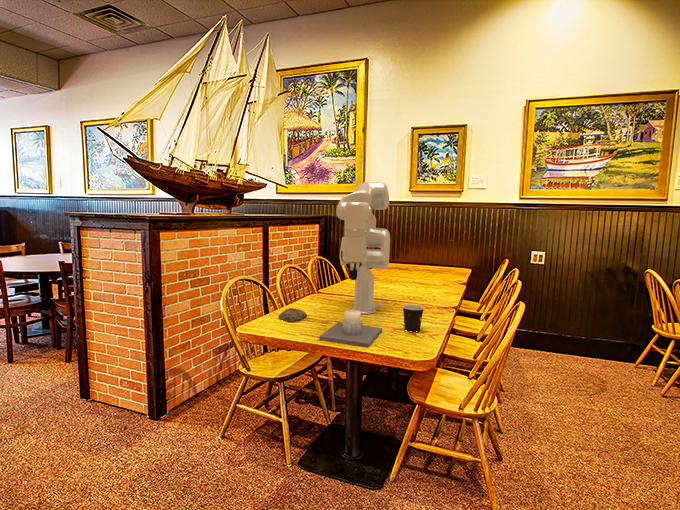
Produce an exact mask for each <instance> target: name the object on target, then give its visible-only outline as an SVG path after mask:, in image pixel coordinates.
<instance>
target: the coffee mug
mask: <svg viewBox="0 0 680 510" xmlns="http://www.w3.org/2000/svg"><path fill="white" fill-rule="evenodd" d="M402 308H403V309H402V310H403V311H402V312H403V324H404V331H405V330H407V331H412V332H411V333H413V332H415V333H417V332H416V331H419V330H420V331H421V326H422V319H423V314H424V307H423V306H421V305H418V304H405V305H402ZM407 331H406V332H407ZM420 331H419V332H420Z"/></svg>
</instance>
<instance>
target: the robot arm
mask: <svg viewBox="0 0 680 510" xmlns="http://www.w3.org/2000/svg"><path fill="white" fill-rule="evenodd" d="M389 193H390V192H389V188H388V186H387V184H385V182H383V181H364V182H361V183H359V184H358V185H357V187H356V189H355V192H352V193H349V194H345V195H344V196H342V197H341V198H340V200H339V202H338V203H337V206H336V216H337V218H338V219H339V220H342V221H344V236H342V238H341V242H340V248H339V249H340V250H339V260H340V265H341V266H343V267H346V268H347V269H348V278H349V279H350V280H351V281H354V306H353V307H351V309H353V310H359V311H361V315H372V314H375V313H377V308H380V307H383V303H382V302H374V298H375V297H374V295H375V294H374V293H375V292H374V291H375V275H374V274H373V271H371V269H380V270H381V269H383V270H384V269H385V270H386V269H388V267H389V264H390V252H391V251H390V250H391V234H390V231H389V230H388V229H387V228H382V227H381V228H379V227H377V218H376V216H375V215H374V214H373V210H386V209H388V207H389V205H390V195H389ZM375 248H379V249H375Z"/></svg>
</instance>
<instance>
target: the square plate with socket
mask: <svg viewBox="0 0 680 510" xmlns="http://www.w3.org/2000/svg"><path fill="white" fill-rule="evenodd" d="M382 332H383V327H378V326H369V325H363V321H362V320H361V322H360V323H357V324H349V323H346V322H344V319H343V320H342V321H341V322H337V323H335V324H333V326H331V327H330V328H329V329H327V330H326V331H324V332H323V333H322V334H320V336H319V341H324V342H329V341H330V342H331V343H336V342H337V343H338V344H342V345H343V344H344V345H349V346H356V347H363V348H368V347H369V346H370V347H371V346H372V344H373V343H374V342H375V341H376V339H377V338H378V337H379V336H380V335H381V333H382ZM379 334H380V335H379ZM374 340H375V341H374ZM370 347H369V348H370Z"/></svg>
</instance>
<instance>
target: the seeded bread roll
mask: <svg viewBox="0 0 680 510" xmlns="http://www.w3.org/2000/svg"><path fill="white" fill-rule="evenodd" d="M307 317H308V314H307V313H306V312H305V311H304V310H302V309H300V308H294V307H290V308H286V309H284V310H283V311H282V312H281V313H280V314H279V315H278V319H279V321H281V320H283V321H282V322H286V321H287V322H286V323H291V322H292V323H297V322H300V321H303V320H305V319H306V318H307ZM302 319H303V320H302ZM296 321H297V322H296Z"/></svg>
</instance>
